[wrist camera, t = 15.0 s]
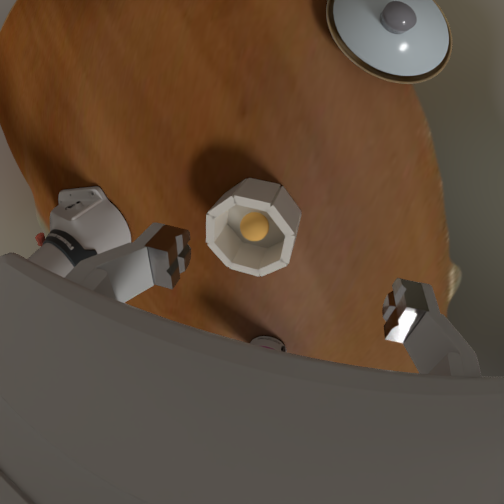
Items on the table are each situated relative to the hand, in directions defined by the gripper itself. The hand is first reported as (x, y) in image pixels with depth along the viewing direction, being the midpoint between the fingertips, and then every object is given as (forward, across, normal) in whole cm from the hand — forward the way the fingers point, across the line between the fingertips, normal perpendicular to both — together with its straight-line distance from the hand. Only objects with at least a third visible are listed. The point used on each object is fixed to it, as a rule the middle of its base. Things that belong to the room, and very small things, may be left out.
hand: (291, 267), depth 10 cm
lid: (+23, +6, +16) cm, 29 cm away
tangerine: (+24, -6, -14) cm, 28 cm away
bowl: (+26, -6, -14) cm, 30 cm away
